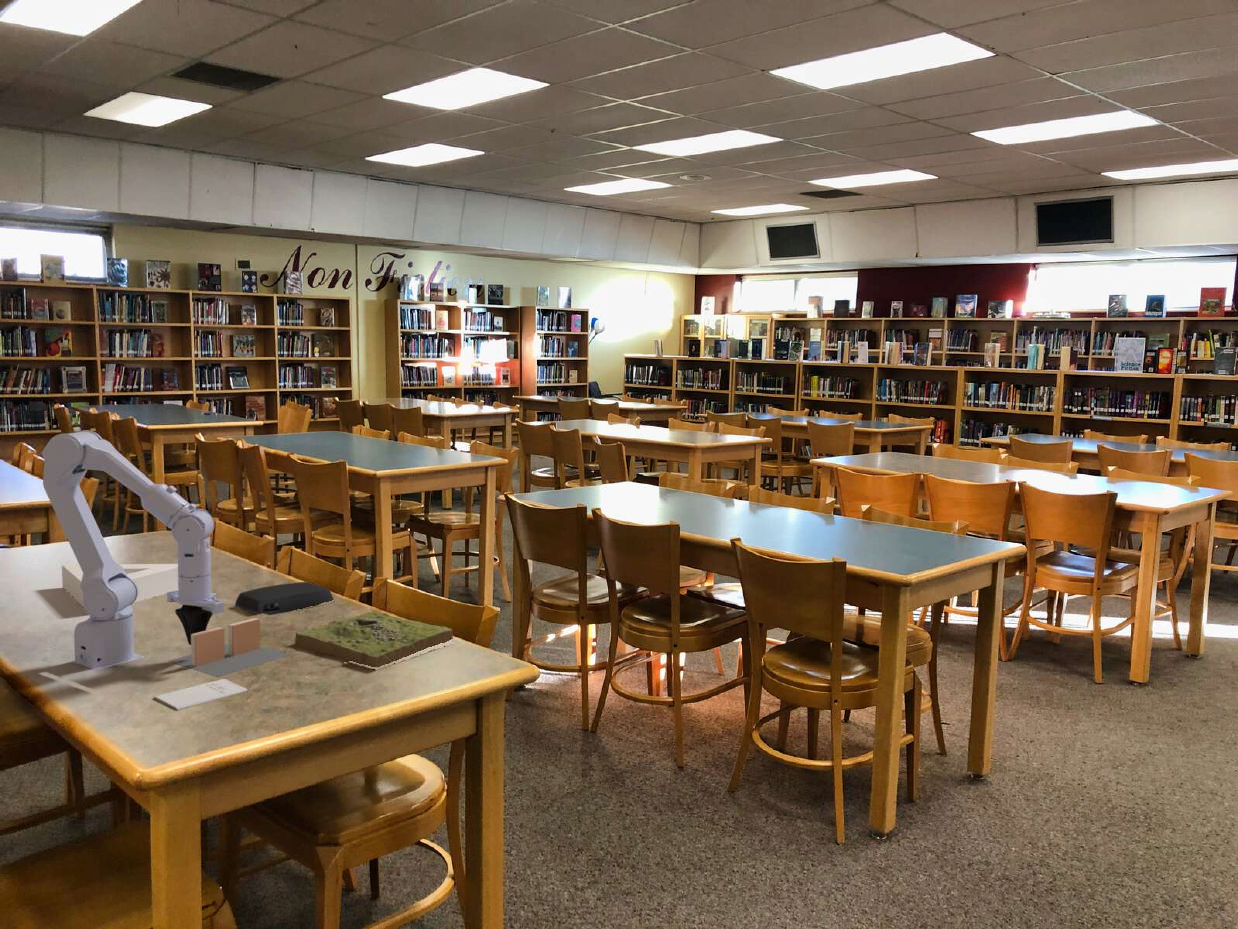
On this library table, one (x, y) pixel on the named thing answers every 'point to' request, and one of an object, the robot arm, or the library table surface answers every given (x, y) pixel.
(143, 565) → the triangle block
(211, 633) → the tile left
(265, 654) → the slate mat
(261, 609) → the external hard drive
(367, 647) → the miniature landscape model
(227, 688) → the external hard drive
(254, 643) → the tile right
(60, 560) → the library table surface
